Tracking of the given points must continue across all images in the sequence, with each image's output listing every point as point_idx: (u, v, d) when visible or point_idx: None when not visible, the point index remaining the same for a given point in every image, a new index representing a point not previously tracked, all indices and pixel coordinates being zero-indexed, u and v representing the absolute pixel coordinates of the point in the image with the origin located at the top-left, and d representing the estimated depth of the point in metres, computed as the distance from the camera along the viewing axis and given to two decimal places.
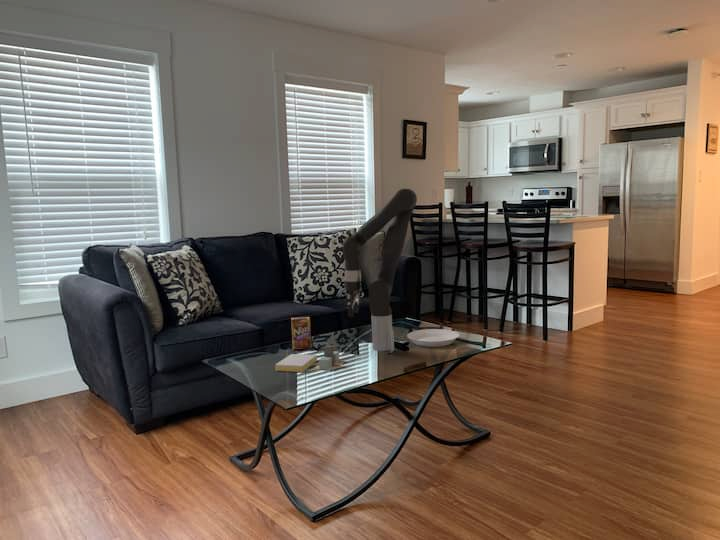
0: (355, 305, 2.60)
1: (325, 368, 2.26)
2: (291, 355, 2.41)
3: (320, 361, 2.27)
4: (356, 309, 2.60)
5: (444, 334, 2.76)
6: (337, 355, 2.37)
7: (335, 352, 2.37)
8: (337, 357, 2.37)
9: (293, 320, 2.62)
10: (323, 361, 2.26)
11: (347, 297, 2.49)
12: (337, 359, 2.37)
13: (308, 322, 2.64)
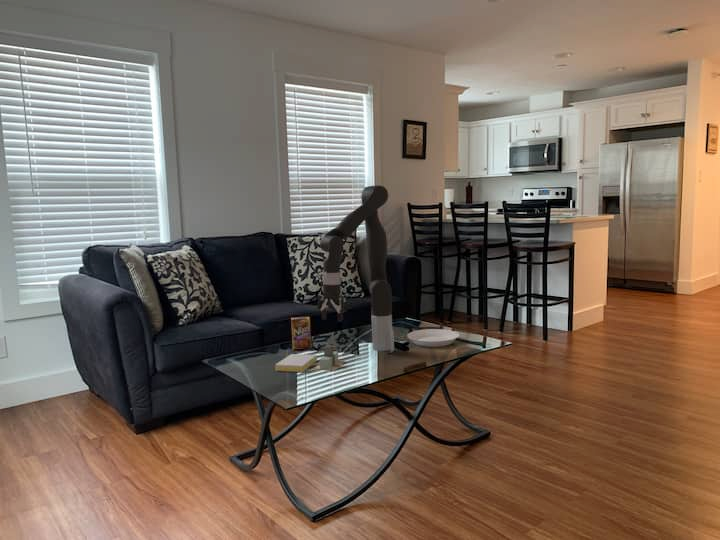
0: (324, 311, 2.40)
1: (326, 368, 2.27)
2: (291, 355, 2.41)
3: (321, 361, 2.27)
4: (325, 315, 2.40)
5: (444, 334, 2.76)
6: (336, 355, 2.36)
7: (334, 352, 2.36)
8: (336, 357, 2.36)
9: (293, 320, 2.62)
10: (323, 360, 2.27)
11: (343, 300, 2.32)
12: (336, 359, 2.36)
13: (308, 322, 2.64)
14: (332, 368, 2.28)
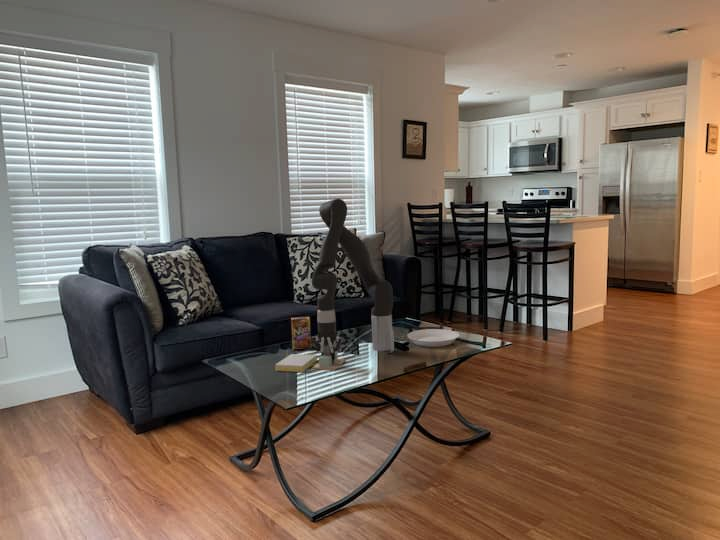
0: None
1: (325, 366, 2.28)
2: (291, 355, 2.41)
3: (320, 359, 2.28)
4: None
5: (444, 334, 2.76)
6: (335, 355, 2.35)
7: None
8: (335, 357, 2.35)
9: (293, 320, 2.62)
10: (323, 359, 2.27)
11: (341, 341, 2.30)
12: (335, 359, 2.35)
13: (308, 322, 2.64)
14: (331, 367, 2.28)
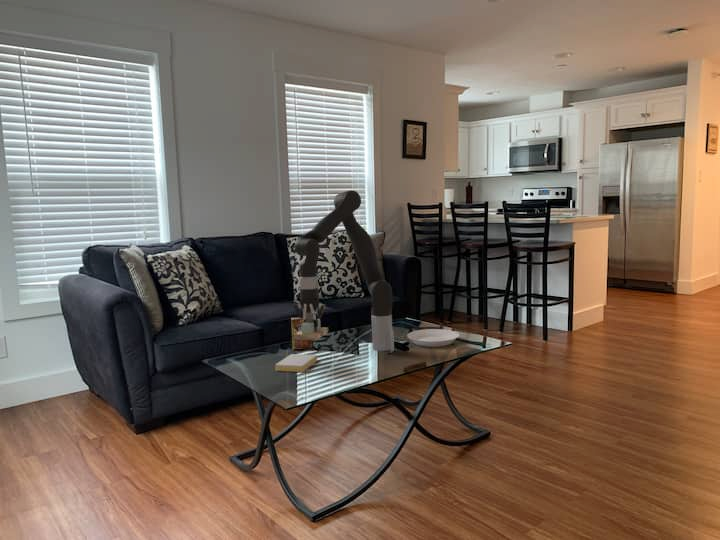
0: None
1: (307, 333, 2.26)
2: (291, 355, 2.41)
3: (302, 326, 2.26)
4: None
5: (444, 334, 2.76)
6: (318, 322, 2.34)
7: None
8: (318, 324, 2.34)
9: (293, 320, 2.62)
10: (305, 325, 2.26)
11: (323, 308, 2.28)
12: (318, 326, 2.34)
13: None
14: (313, 334, 2.26)
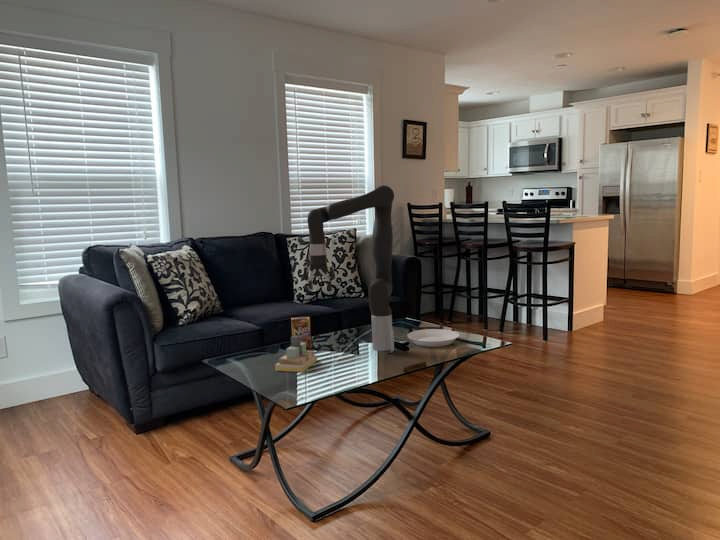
0: (311, 282, 2.52)
1: (292, 357, 2.28)
2: None
3: (287, 350, 2.28)
4: (312, 285, 2.53)
5: (444, 334, 2.76)
6: (304, 346, 2.36)
7: (302, 343, 2.36)
8: (304, 348, 2.36)
9: (293, 320, 2.62)
10: (290, 350, 2.28)
11: (332, 269, 2.48)
12: (304, 350, 2.36)
13: (308, 322, 2.64)
14: (298, 358, 2.28)
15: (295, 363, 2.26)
